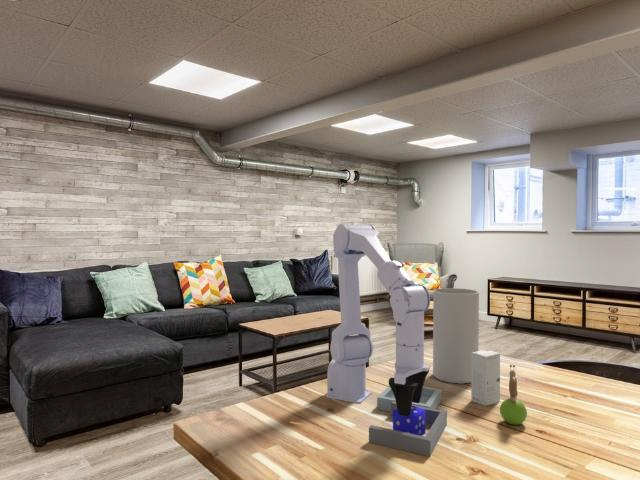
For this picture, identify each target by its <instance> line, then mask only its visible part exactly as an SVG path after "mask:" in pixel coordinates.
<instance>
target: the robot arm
mask: <svg viewBox="0 0 640 480" xmlns="http://www.w3.org/2000/svg"><path fill="white" fill-rule="evenodd" d="M332 235H333V236H332V240H333V241H332V242H333V254H334V255H333V256H334V257H335V258H337V270H338V271H337V272H338V287H339V289H338V291H339V306H340V324H339V325H337V327H336V328H334V330H333V331H332V332H331V343H330V356H331V357H332V359H331V361H330V362H329V364H328V366H327V379H326V380H327V384H326V385H327V388H326V393H327V394H326V395H325V397H326V398H329V399H334V400H339V401H344V402H350V403H355V404H361V403H363V401H365V400H366V399H367V398H369V396H370V395H371V394H372V391H369V390H366V389H367V387H366V386H367V385H366V384H367V379H366V378H367V376H366V374H367V372H366V371H367V370H366V369H367V366H366V364H367V363H369V359H370V358H371V357H372V355H373V352H374V344H373V340H372V338H371V332H370V329H369V328H368V327H366V326H365V325H364V324H363V323H362V313H361V296H360V295H361V294H360V279H359V264H358V263H359V261H360V260H361V259H362V258H363V257H367V258H368V259H369V261H370V262H371V263H372V264H373V265H374V266H375V267H376V268H377V270H378V271H377V274H376V275H377V276H376V277H377V278H378V280H379V281H380V282H381V285H382V286H383V287H384V289H385V290H386V291H387V293H388V294H389V296H390V298H389V303H390V308H391V309H392V313H393V314H392V315H393V316H392V317H393V320H394V322H395V362H394V370H395V372H394V377H393V376H392V377H390V378H389V379H388V386H390V388H391V389H392V391H393V394H394V396H395V400H396V404H397V409H398V413H399V415H403V416H409V415H410V412H411V407H412V402H414V403H419V402H420V399H421V394H422V389H423V386H424V385H425V381H426V378H427V376H428V374H429V372H430V368H431V367H430V365H427V364H425V358H424V357H425V355H424V354H425V348H424V347H425V312H427V311H428V309H430V305H431V295H430V291H429V290H428V288H427V287H426V285H424V284H421V283H418V282H417V281H416V282H415V281H414V280H413V279H412V278H411V276H409V273H407V272H406V270H405V269H404V268H403V265H402V263H401V262H399V261H396V260H391V259H390V257H389V255H388V254H387V252H386V250H385V248H384V247H383V245H382V244H381V242H380V233H379V230H377V227H375V226H374V225H373V224H370V223H369V224H344V223H340V224H338V225H337V226H336V228H335V230H334V232H333V234H332Z"/></svg>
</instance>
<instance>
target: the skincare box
mask: <svg viewBox="0 0 640 480" xmlns="http://www.w3.org/2000/svg"><path fill="white" fill-rule="evenodd" d="M470 385H471V386H470V387H471V391H470V392H471V399H470V400H471V401H472V402H474V403H476V404H479V405H481V406H485V407H486V406H490V405H494V404H496V403H499V402H501V354H500V352H497V351H493V350H489V349H484V350H478V351H477V352H472V372H471V383H470Z"/></svg>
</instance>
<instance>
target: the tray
mask: <svg viewBox="0 0 640 480" xmlns="http://www.w3.org/2000/svg"><path fill="white" fill-rule="evenodd" d="M376 399H377V401H376V408H377V410H381V411H385V412H390V413H391V403H392V402H393V401H395V402H396V400H395V396H394V394H393V391H392V389H391V388H390V386H389V385H388V386H387V387H386V388H385V389H384V390H383V391H382V392H381V393H380V394H379V395H378V396H377V398H376ZM441 403H442V388H435V387H429V386H424V385H423V389H422V394H421V399H420V402H419V403H414V402H412V405H417V406H422V407H427V408H433V409H437V408H438V407H439V405H440V404H441Z"/></svg>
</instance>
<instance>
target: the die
mask: <svg viewBox="0 0 640 480" xmlns="http://www.w3.org/2000/svg"><path fill="white" fill-rule="evenodd" d="M425 413H426V410H425V409H422V408H418V407H415V406H412V407H411V412H410V415H409V416H403V415H399V413H398V409H395V410H393V416H392V430H396V431H401V432H406V433H410V434H415V435H420V436H423V435H424V434H425V433H426V423H425Z"/></svg>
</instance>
